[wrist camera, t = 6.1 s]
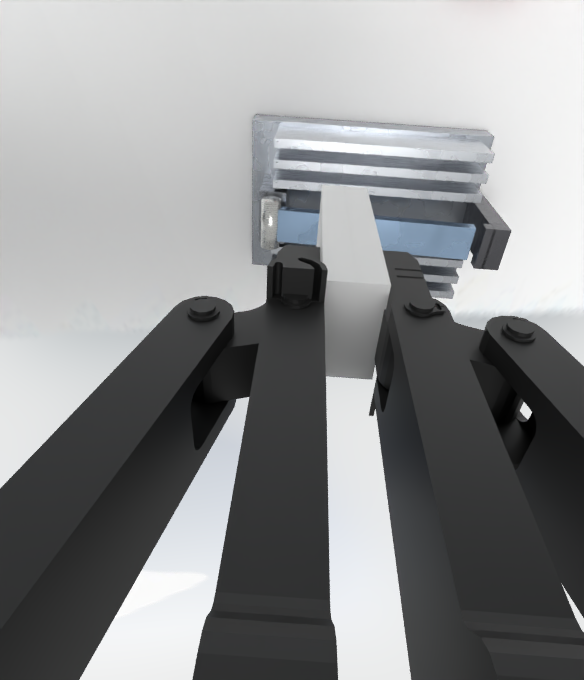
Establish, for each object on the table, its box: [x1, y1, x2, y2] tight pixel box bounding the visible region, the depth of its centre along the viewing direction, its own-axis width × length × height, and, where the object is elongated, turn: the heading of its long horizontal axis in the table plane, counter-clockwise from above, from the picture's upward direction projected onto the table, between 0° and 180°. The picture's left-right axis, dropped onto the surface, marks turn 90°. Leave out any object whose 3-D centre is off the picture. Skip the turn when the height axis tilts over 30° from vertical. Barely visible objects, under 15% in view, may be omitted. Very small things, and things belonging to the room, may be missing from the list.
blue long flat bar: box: [261, 196, 476, 260], centre depth 34 cm, size 15×4×1 cm, turn 87°
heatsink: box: [252, 114, 511, 299], centre depth 37 cm, size 19×12×9 cm, turn 87°
